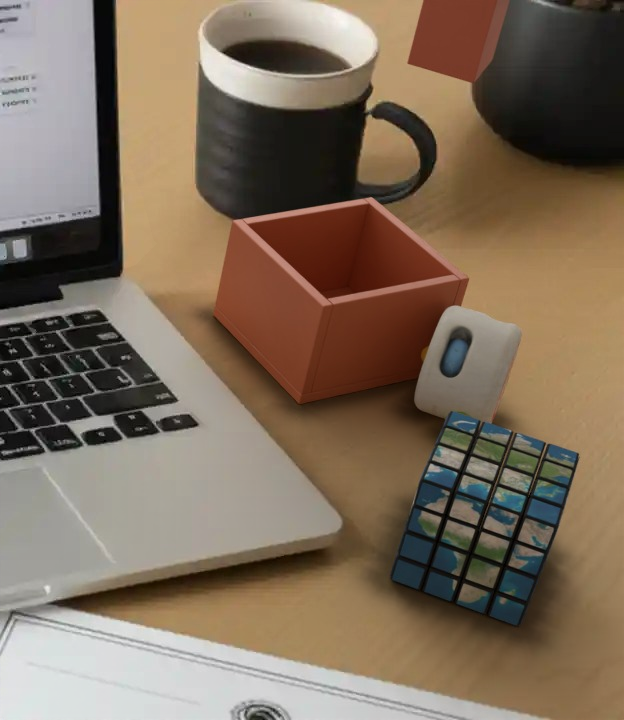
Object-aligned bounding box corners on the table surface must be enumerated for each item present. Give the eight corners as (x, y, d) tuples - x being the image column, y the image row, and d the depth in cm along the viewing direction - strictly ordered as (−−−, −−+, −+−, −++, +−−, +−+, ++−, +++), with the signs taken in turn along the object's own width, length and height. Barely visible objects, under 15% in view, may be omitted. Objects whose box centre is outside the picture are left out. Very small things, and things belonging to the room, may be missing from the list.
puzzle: (519, 629, 73) (558, 526, 70) (388, 580, 75) (419, 478, 72) (543, 551, 78) (581, 451, 75) (419, 507, 80) (450, 408, 76)
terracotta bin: (348, 288, 96) (372, 196, 92) (440, 373, 89) (470, 278, 86) (212, 314, 92) (231, 219, 89) (299, 404, 86) (323, 306, 82)
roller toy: (393, 427, 85) (420, 334, 82) (423, 367, 90) (450, 277, 86) (478, 457, 84) (509, 363, 80) (504, 394, 88) (535, 303, 85)
